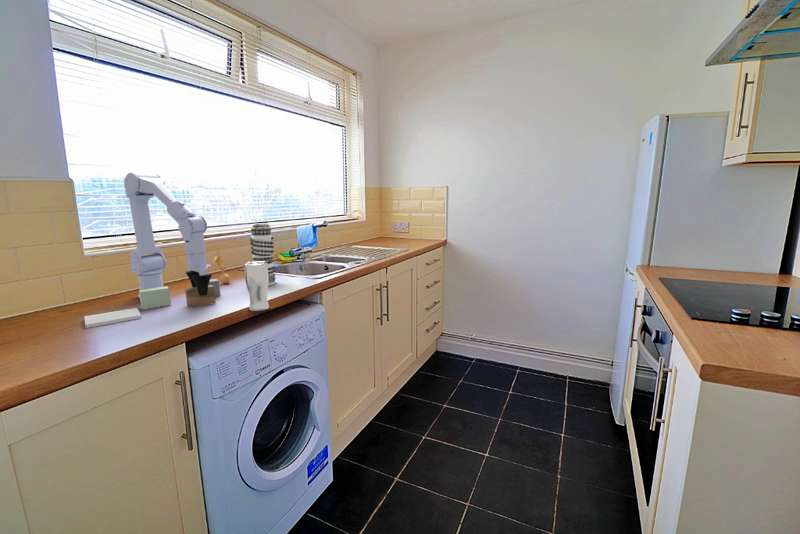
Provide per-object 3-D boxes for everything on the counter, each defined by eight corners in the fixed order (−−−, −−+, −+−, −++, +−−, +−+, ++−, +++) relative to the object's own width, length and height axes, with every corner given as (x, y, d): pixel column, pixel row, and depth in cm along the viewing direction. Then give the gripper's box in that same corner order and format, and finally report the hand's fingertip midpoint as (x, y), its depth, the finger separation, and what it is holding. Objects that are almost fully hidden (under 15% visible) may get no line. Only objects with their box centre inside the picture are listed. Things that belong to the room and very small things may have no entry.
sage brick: (141, 307, 125) (138, 290, 124) (169, 303, 130) (166, 286, 129) (142, 310, 122) (140, 292, 121) (170, 305, 127) (168, 288, 126)
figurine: (225, 285, 154) (222, 256, 152) (211, 285, 154) (208, 256, 152) (235, 281, 162) (232, 253, 160) (222, 281, 162) (219, 253, 160)
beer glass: (264, 304, 127) (261, 260, 125) (274, 308, 122) (271, 263, 120) (244, 308, 123) (240, 263, 120) (253, 313, 118) (249, 266, 115)
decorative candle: (261, 280, 163) (256, 222, 158) (280, 281, 161) (276, 222, 156) (248, 285, 154) (243, 224, 149) (269, 286, 152) (264, 224, 148)
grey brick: (193, 298, 136) (192, 282, 135) (217, 294, 141) (216, 278, 140) (196, 300, 133) (194, 283, 132) (220, 296, 138) (218, 280, 137)
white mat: (84, 319, 113) (84, 316, 113) (137, 310, 121) (136, 307, 121) (85, 328, 105) (85, 324, 105) (141, 318, 114) (140, 315, 113)
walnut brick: (187, 305, 126) (185, 288, 125) (212, 301, 132) (211, 284, 130) (189, 308, 124) (187, 290, 123) (215, 303, 129) (213, 286, 128)
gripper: (215, 254, 122) (219, 295, 124) (203, 249, 132) (207, 287, 135) (190, 256, 117) (195, 299, 120) (180, 251, 128) (185, 290, 130)
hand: (200, 293), depth 127 cm, fingers open, 7 cm apart
